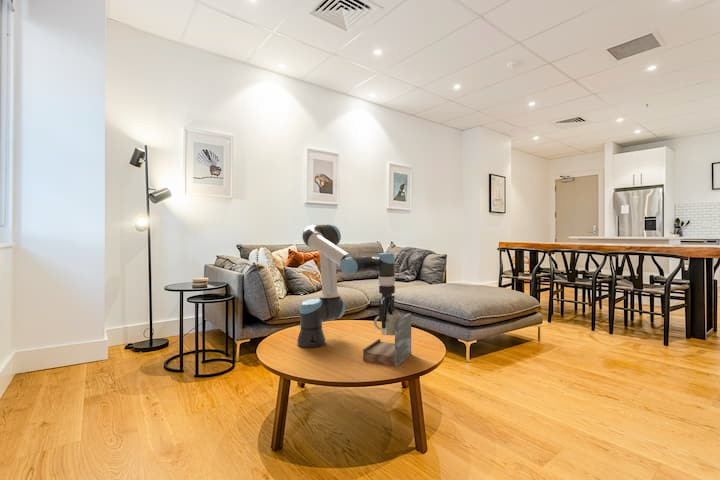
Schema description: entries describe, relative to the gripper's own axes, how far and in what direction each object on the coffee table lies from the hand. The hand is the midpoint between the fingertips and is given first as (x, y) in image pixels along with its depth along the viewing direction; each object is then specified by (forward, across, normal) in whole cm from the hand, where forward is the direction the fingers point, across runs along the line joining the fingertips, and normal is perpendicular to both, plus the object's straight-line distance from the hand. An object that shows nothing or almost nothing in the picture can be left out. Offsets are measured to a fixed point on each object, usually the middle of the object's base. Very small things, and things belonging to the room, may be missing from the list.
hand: (387, 332), depth 171 cm
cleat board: (+12, 0, 0) cm, 12 cm away
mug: (0, -1, 0) cm, 1 cm away
